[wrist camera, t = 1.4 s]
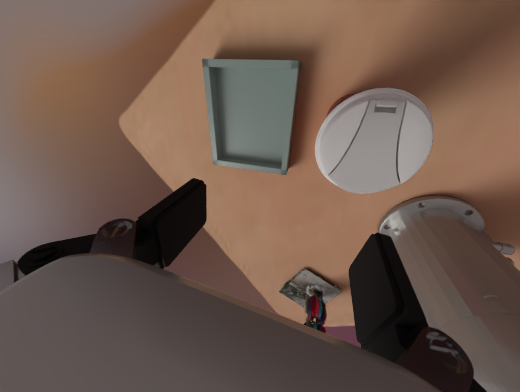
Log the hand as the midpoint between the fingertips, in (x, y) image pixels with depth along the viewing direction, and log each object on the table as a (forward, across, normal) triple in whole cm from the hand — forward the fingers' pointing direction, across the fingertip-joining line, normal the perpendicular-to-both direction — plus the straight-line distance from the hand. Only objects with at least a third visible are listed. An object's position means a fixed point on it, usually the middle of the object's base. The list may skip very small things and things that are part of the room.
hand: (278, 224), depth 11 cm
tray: (+20, +8, -1) cm, 22 cm away
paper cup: (+20, -4, -4) cm, 21 cm away
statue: (+21, -10, +33) cm, 40 cm away
